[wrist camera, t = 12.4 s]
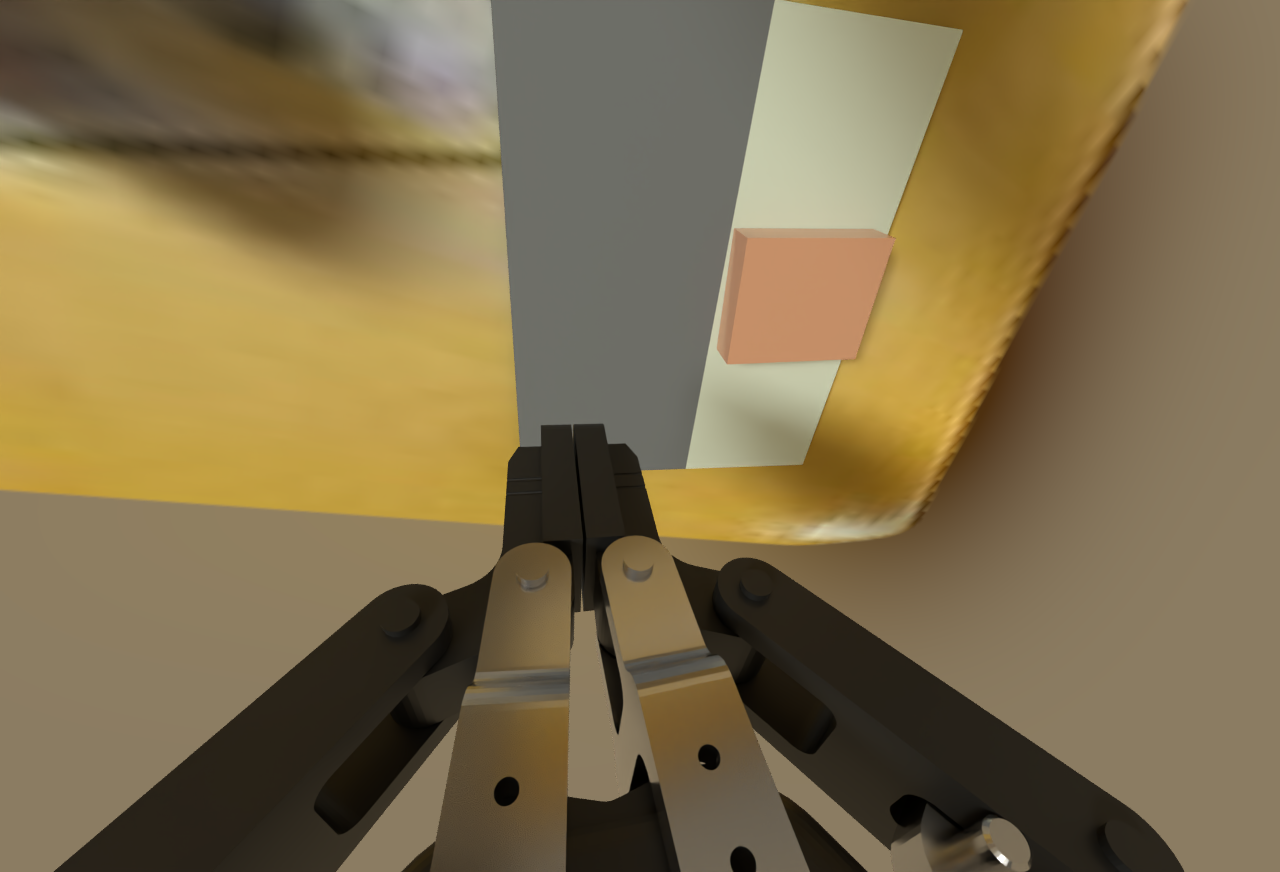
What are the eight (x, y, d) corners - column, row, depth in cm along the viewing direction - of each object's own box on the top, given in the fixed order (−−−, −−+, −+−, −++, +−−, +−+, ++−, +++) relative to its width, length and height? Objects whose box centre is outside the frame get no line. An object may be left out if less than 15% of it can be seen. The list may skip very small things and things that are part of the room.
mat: (489, -44, 16) (487, -49, 15) (952, 31, 19) (963, 29, 19) (522, 467, 28) (521, 474, 28) (798, 459, 32) (802, 464, 31)
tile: (747, 237, 20) (895, 238, 21) (733, 228, 22) (872, 228, 23) (727, 364, 24) (855, 359, 25) (716, 348, 25) (837, 344, 26)
